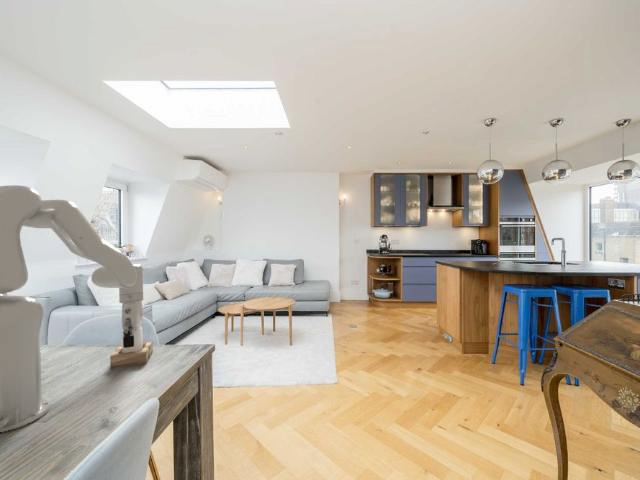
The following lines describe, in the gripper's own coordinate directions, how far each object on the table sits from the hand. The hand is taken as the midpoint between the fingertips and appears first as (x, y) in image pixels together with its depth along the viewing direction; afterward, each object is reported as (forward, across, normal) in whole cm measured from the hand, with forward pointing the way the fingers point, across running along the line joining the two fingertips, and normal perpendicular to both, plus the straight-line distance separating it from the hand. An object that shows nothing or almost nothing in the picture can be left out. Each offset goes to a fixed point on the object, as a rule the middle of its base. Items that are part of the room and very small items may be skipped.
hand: (132, 342), depth 107 cm
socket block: (+7, 0, 0) cm, 7 cm away
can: (+6, 0, 0) cm, 6 cm away
